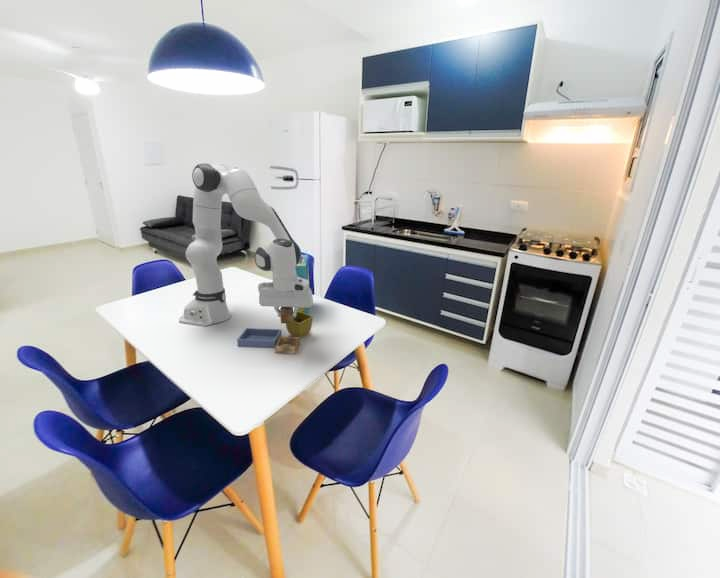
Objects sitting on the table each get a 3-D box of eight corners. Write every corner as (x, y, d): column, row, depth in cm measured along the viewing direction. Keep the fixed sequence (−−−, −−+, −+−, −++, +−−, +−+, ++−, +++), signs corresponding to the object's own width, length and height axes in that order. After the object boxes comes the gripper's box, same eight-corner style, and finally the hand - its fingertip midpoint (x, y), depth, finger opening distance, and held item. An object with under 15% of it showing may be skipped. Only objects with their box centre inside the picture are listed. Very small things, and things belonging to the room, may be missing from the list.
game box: (297, 303, 178) (295, 254, 169) (309, 303, 179) (308, 254, 169) (294, 319, 159) (291, 265, 149) (307, 319, 159) (305, 265, 150)
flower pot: (313, 334, 146) (313, 315, 142) (300, 342, 139) (299, 323, 135) (298, 329, 150) (298, 311, 147) (285, 336, 143) (284, 317, 140)
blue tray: (237, 347, 133) (237, 339, 132) (247, 335, 143) (246, 328, 142) (275, 348, 133) (274, 341, 132) (281, 336, 143) (281, 329, 141)
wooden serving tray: (275, 354, 129) (275, 346, 128) (281, 343, 137) (280, 336, 136) (296, 355, 129) (296, 347, 128) (300, 344, 137) (300, 337, 136)
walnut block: (281, 323, 127) (280, 309, 125) (283, 318, 131) (282, 304, 129) (291, 323, 127) (290, 309, 125) (293, 319, 131) (292, 305, 128)
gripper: (254, 284, 121) (258, 319, 125) (310, 286, 120) (311, 320, 125) (260, 279, 126) (263, 312, 131) (313, 281, 126) (314, 313, 131)
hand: (287, 316), depth 128 cm, fingers closed on walnut block, 4 cm apart
